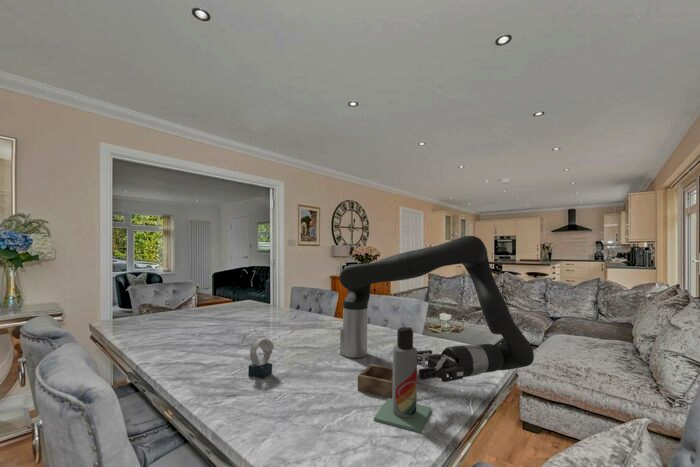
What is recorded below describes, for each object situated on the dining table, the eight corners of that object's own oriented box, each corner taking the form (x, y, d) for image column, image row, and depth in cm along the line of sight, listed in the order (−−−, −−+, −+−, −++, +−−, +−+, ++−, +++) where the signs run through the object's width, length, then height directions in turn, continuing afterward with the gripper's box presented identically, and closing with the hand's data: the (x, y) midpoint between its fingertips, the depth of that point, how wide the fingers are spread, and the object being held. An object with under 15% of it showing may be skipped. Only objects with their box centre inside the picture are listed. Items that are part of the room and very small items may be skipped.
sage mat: (373, 420, 74) (373, 417, 74) (388, 400, 84) (388, 397, 84) (421, 432, 69) (421, 430, 69) (431, 409, 79) (431, 407, 79)
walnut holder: (357, 390, 89) (357, 375, 89) (370, 377, 98) (370, 364, 98) (392, 398, 85) (392, 382, 85) (402, 383, 94) (402, 369, 94)
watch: (275, 371, 101) (276, 336, 101) (259, 381, 93) (260, 343, 94) (261, 368, 103) (262, 334, 104) (244, 377, 96) (245, 340, 96)
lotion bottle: (416, 420, 73) (417, 331, 74) (391, 417, 74) (392, 330, 75) (416, 407, 78) (417, 325, 79) (393, 405, 80) (394, 324, 80)
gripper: (447, 338, 90) (396, 343, 84) (485, 354, 76) (426, 362, 71) (447, 365, 89) (395, 372, 84) (485, 386, 76) (426, 396, 70)
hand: (410, 367), depth 77 cm, fingers open, 8 cm apart
